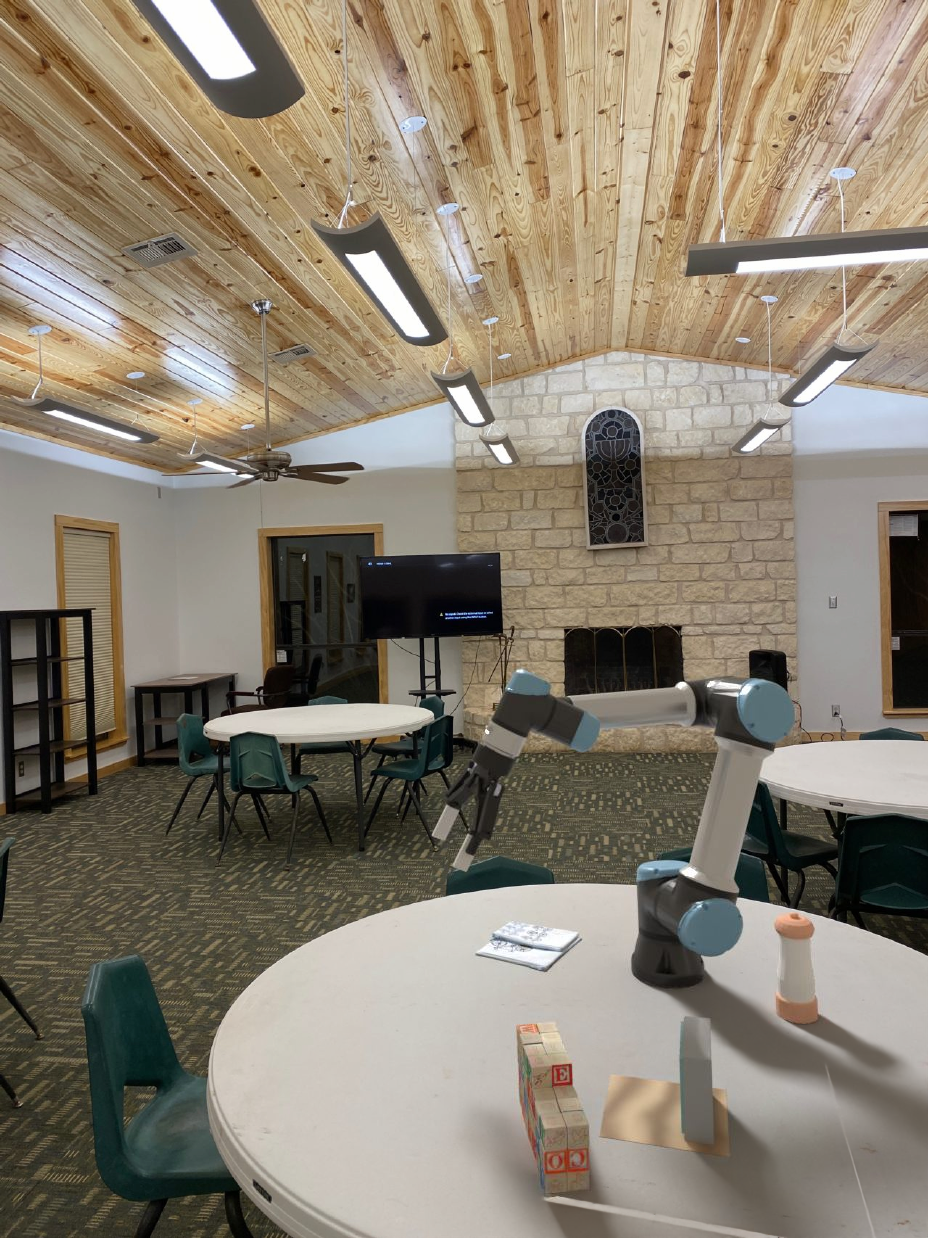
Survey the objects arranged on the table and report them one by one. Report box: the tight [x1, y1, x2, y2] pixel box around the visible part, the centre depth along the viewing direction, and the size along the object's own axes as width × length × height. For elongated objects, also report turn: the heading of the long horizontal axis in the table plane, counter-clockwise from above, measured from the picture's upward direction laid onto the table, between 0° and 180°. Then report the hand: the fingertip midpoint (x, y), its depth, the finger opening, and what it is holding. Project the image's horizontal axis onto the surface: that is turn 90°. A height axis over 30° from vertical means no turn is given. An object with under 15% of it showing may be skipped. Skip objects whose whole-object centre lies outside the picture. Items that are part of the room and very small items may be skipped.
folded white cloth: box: [474, 920, 582, 972], centre depth 182 cm, size 19×20×2 cm
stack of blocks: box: [516, 1021, 591, 1198], centre depth 114 cm, size 21×6×12 cm, turn 5°
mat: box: [598, 1073, 731, 1158], centre depth 119 cm, size 18×16×1 cm
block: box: [678, 1015, 714, 1145], centre depth 118 cm, size 4×12×12 cm, turn 163°
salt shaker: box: [773, 911, 819, 1025], centre depth 148 cm, size 7×7×19 cm
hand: (448, 853), depth 146 cm, fingers open, 13 cm apart
